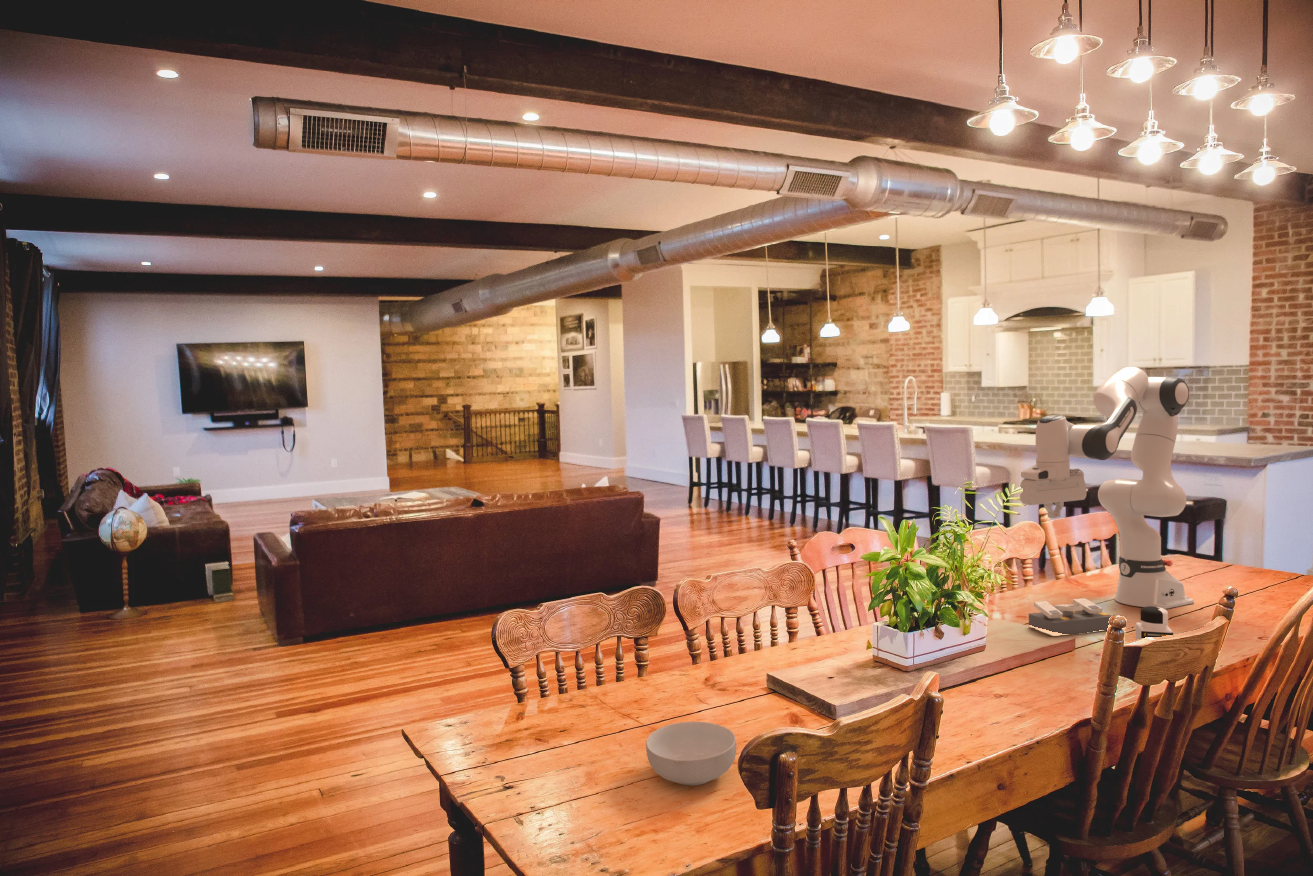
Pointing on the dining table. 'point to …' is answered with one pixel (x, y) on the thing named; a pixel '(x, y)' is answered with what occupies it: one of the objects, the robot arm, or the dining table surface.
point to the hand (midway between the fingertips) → (1054, 517)
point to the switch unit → (1071, 622)
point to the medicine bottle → (1153, 623)
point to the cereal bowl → (691, 752)
